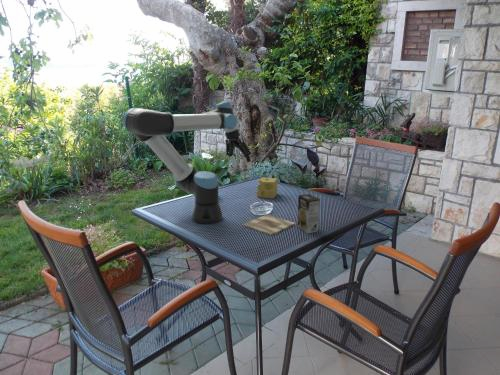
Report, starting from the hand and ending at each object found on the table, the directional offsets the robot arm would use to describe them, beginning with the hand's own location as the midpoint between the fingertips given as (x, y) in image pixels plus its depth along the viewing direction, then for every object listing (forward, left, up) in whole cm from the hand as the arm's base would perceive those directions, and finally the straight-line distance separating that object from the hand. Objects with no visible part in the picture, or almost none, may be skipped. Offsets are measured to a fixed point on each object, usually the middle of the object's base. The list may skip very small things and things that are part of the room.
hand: (242, 167), depth 223 cm
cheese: (+19, -2, -21) cm, 29 cm away
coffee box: (-9, -50, -21) cm, 55 cm away
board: (-17, -33, -21) cm, 43 cm away
